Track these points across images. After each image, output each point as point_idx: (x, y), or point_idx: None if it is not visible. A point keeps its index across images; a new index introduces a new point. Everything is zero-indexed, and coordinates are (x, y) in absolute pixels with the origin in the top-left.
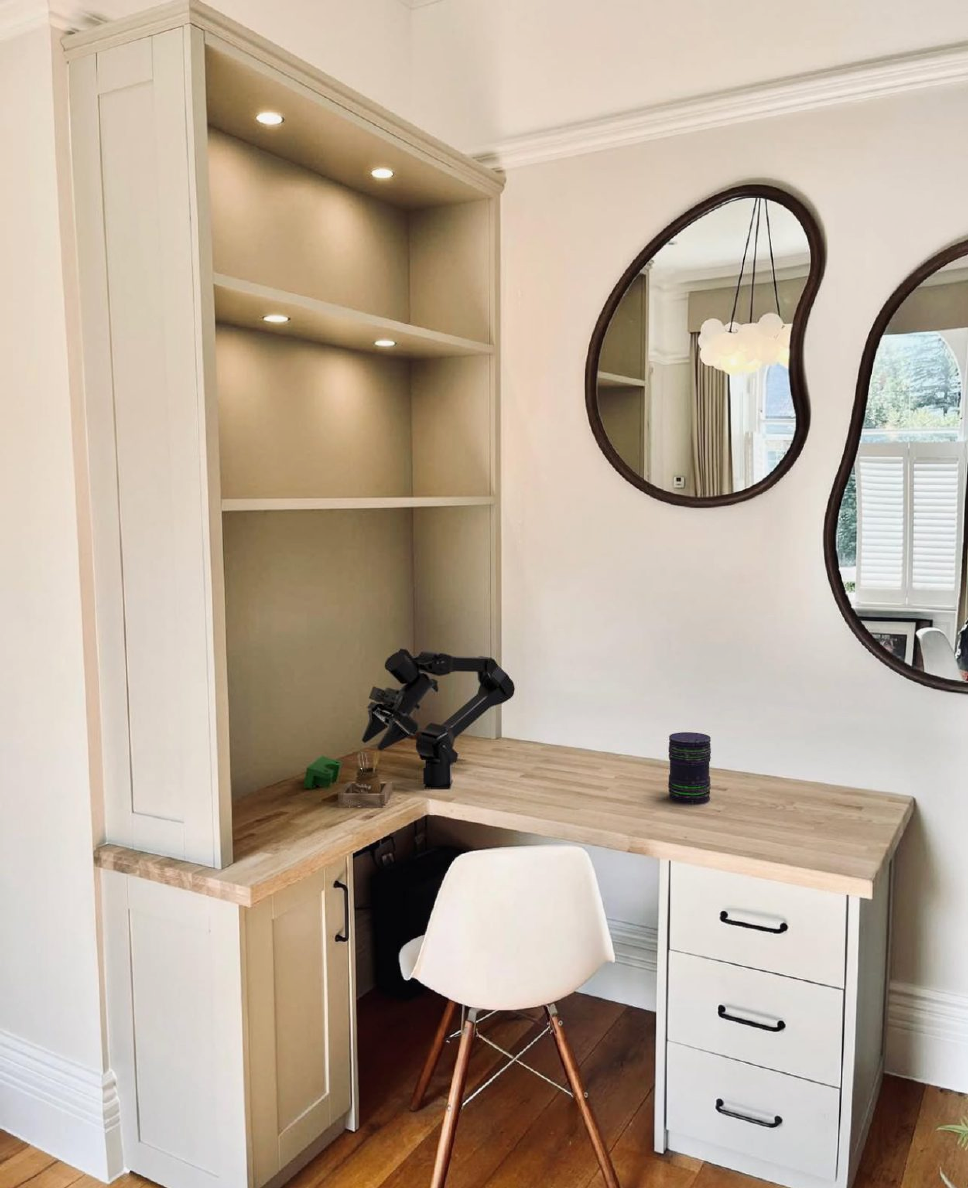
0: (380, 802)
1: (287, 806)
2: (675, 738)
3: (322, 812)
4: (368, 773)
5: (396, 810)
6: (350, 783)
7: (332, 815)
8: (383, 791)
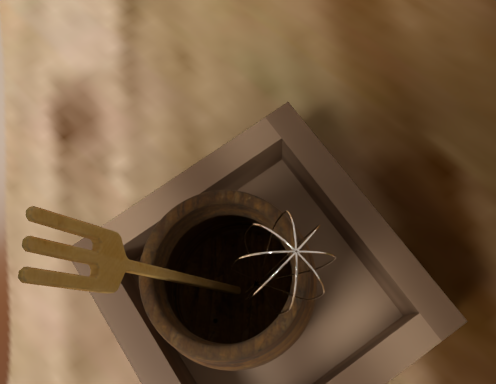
0: None
1: (483, 4)
2: None
3: (287, 43)
4: (163, 218)
5: (18, 263)
6: (415, 300)
7: (219, 44)
8: (118, 300)
